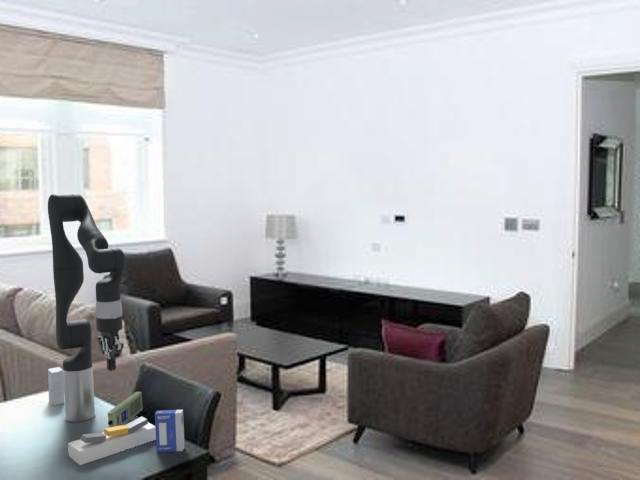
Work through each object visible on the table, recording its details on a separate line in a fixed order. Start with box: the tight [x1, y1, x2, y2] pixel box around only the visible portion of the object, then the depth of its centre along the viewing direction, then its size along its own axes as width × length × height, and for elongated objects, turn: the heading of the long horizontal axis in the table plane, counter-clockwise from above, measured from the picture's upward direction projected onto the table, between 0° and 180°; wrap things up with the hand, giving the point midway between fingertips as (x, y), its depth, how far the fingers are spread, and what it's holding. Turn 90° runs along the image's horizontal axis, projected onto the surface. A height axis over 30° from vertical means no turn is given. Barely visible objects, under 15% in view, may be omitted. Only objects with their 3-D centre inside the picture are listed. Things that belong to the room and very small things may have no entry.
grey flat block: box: [80, 432, 106, 443], centre depth 181 cm, size 3×6×2 cm, turn 134°
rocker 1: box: [103, 424, 128, 437], centre depth 186 cm, size 3×6×2 cm, turn 134°
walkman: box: [154, 409, 185, 453], centre depth 185 cm, size 8×3×12 cm, turn 94°
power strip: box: [67, 422, 156, 466], centre depth 187 cm, size 8×24×4 cm, turn 134°
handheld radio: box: [107, 391, 144, 428], centre depth 205 cm, size 7×3×25 cm
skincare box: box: [47, 366, 65, 406], centre depth 225 cm, size 6×4×12 cm
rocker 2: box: [124, 416, 149, 433], centre depth 190 cm, size 3×6×2 cm, turn 134°
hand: (111, 369), depth 191 cm, fingers closed
